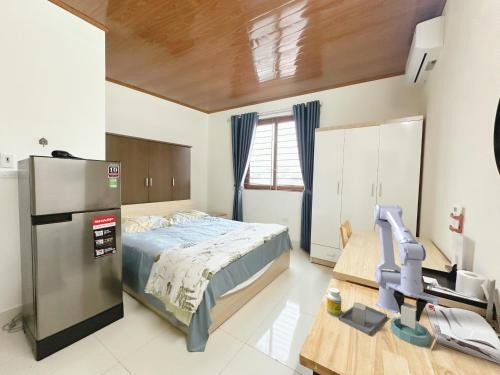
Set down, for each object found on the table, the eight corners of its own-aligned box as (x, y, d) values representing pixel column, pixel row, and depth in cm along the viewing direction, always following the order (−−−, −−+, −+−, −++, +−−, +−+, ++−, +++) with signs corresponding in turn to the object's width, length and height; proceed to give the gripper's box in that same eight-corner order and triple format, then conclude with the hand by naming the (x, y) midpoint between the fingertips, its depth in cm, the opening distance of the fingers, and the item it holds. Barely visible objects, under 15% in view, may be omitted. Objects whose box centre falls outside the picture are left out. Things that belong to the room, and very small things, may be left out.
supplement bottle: (332, 308, 90) (332, 285, 90) (343, 315, 85) (344, 291, 85) (324, 312, 87) (324, 288, 87) (335, 319, 82) (336, 294, 82)
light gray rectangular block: (354, 317, 83) (354, 302, 83) (365, 321, 81) (366, 305, 81) (352, 322, 80) (352, 306, 80) (364, 326, 78) (364, 310, 78)
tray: (358, 305, 92) (358, 302, 92) (386, 318, 84) (386, 314, 84) (338, 320, 82) (338, 316, 82) (369, 336, 73) (369, 332, 73)
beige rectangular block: (404, 318, 77) (404, 302, 77) (418, 324, 74) (418, 307, 74) (400, 323, 74) (401, 306, 74) (414, 329, 71) (415, 311, 71)
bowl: (396, 321, 82) (396, 314, 82) (432, 337, 74) (432, 328, 74) (386, 333, 75) (386, 325, 75) (425, 351, 67) (425, 342, 67)
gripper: (383, 273, 77) (382, 311, 77) (435, 288, 66) (434, 332, 66) (390, 269, 82) (389, 304, 82) (440, 282, 71) (439, 323, 71)
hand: (409, 316), depth 74 cm, fingers closed on beige rectangular block, 4 cm apart
